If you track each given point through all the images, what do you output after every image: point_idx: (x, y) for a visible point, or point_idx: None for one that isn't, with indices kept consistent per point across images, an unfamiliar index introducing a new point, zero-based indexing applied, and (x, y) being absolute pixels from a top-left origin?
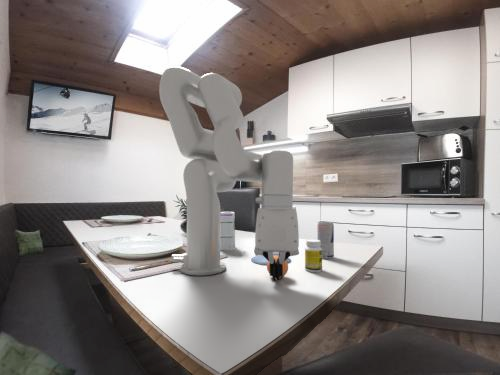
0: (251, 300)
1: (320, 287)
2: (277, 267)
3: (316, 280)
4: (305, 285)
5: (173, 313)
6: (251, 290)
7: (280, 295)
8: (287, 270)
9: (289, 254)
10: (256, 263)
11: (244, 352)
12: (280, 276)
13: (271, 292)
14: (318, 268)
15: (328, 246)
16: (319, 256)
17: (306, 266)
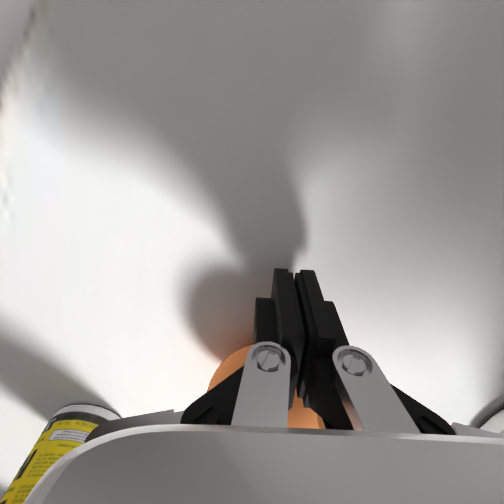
0: (495, 35)
1: (56, 237)
2: (297, 320)
3: (78, 323)
4: (135, 264)
5: None
6: (438, 201)
7: (293, 121)
8: (213, 376)
9: (188, 421)
10: None
11: None
12: (253, 344)
13: (335, 170)
14: (58, 420)
15: None
16: (14, 488)
17: None
